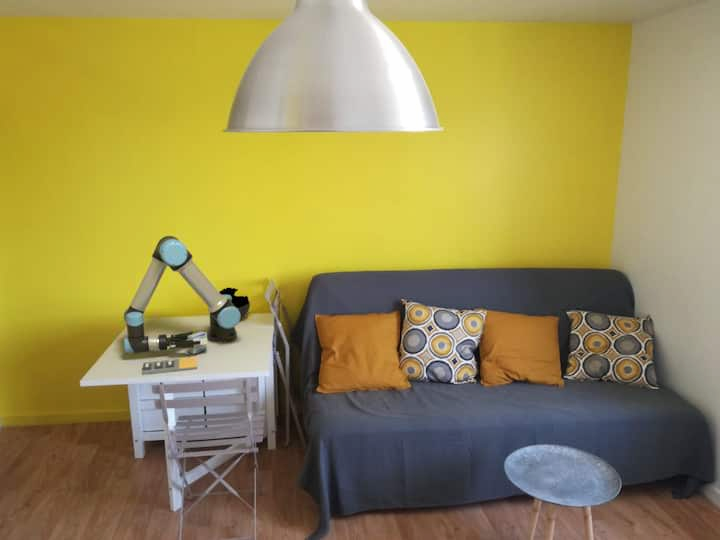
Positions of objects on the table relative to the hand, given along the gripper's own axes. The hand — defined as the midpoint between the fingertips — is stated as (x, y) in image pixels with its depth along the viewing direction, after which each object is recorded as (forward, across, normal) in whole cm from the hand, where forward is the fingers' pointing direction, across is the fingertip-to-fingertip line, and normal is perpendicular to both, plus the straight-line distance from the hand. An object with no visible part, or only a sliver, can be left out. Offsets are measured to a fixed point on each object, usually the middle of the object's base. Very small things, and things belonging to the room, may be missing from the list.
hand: (206, 338), depth 302 cm
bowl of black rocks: (+16, -48, -8) cm, 51 cm away
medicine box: (-5, 0, -6) cm, 8 cm away
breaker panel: (-18, +14, -7) cm, 24 cm away
